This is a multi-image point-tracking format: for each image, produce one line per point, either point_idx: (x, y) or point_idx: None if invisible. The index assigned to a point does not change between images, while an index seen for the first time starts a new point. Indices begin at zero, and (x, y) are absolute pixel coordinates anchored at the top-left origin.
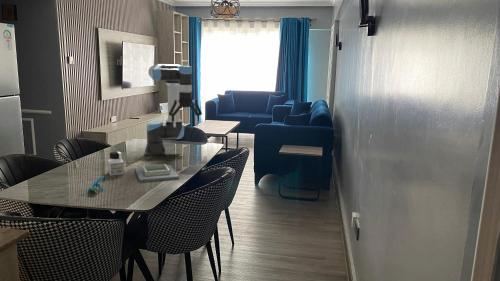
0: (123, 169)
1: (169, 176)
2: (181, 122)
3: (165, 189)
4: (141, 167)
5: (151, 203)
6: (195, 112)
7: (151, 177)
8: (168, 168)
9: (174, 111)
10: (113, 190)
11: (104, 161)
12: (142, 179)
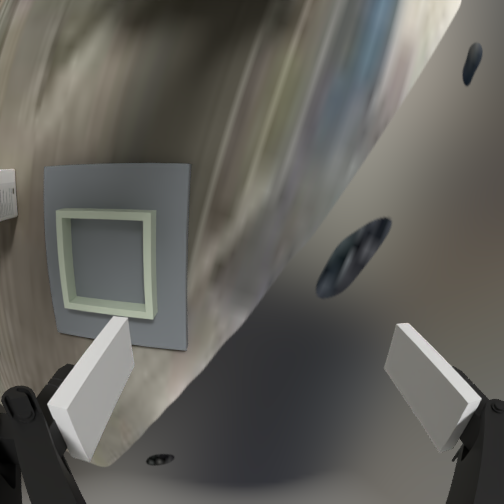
0: (6, 219)
1: (151, 339)
2: None
3: (133, 412)
4: (65, 171)
5: (106, 458)
6: (454, 492)
7: (90, 326)
8: (150, 295)
9: (34, 492)
10: (17, 360)
11: (6, 33)
12: (65, 333)
